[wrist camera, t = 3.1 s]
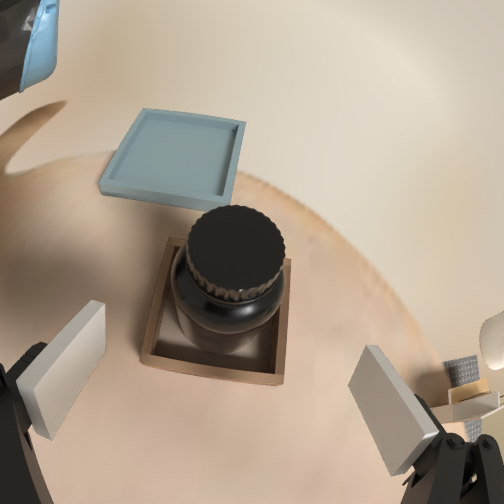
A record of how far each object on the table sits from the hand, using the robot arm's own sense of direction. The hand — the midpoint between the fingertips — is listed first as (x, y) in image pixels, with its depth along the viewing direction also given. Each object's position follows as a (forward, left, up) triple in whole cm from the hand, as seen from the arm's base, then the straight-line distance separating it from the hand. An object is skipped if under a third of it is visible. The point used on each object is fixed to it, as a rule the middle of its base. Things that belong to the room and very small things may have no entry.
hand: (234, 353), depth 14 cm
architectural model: (+22, +9, -11) cm, 26 cm away
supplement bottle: (-3, +4, -10) cm, 11 cm away
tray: (-18, +15, -10) cm, 25 cm away
